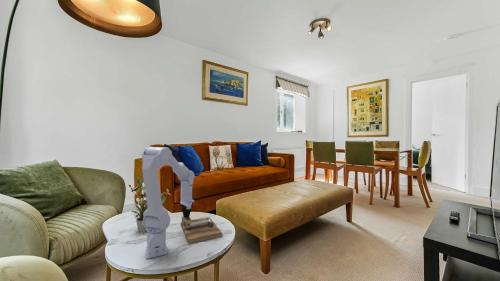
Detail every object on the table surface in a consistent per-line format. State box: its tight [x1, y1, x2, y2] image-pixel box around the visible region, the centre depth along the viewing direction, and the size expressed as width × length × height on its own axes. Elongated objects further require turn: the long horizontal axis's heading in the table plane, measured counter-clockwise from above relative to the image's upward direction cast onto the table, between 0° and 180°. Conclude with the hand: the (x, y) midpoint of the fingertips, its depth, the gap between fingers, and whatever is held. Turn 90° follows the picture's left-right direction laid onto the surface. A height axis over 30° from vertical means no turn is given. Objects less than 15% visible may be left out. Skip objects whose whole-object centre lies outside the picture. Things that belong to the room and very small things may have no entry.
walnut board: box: [180, 215, 223, 245], centre depth 104 cm, size 22×16×5 cm
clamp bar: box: [186, 218, 213, 228], centre depth 104 cm, size 4×13×2 cm, turn 118°
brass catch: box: [185, 216, 192, 225], centre depth 102 cm, size 5×2×2 cm, turn 28°
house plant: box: [130, 198, 148, 233], centre depth 102 cm, size 14×14×16 cm
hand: (186, 218), depth 106 cm, fingers closed
